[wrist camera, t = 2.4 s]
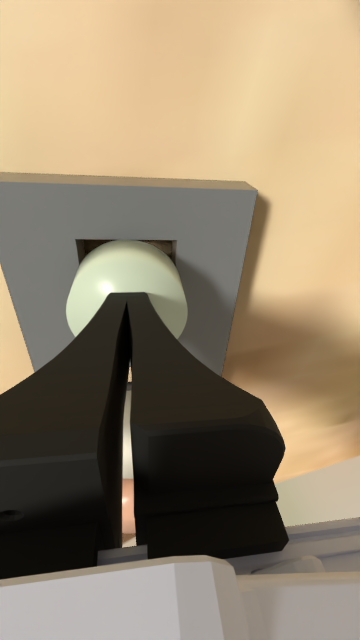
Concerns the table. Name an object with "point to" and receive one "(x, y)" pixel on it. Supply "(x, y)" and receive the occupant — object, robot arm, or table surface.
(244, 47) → the table surface
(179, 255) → the panel
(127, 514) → the button terracotta
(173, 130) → the table surface
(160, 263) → the button sage
